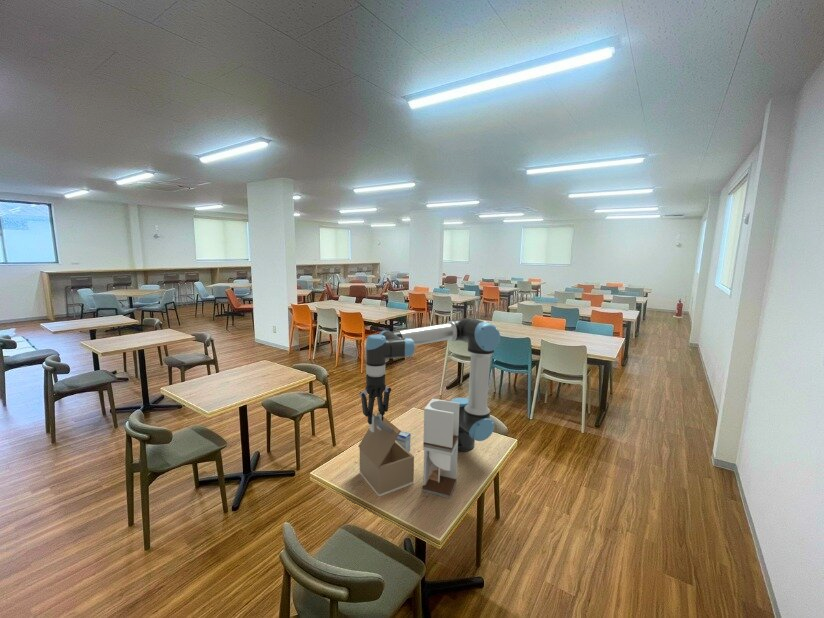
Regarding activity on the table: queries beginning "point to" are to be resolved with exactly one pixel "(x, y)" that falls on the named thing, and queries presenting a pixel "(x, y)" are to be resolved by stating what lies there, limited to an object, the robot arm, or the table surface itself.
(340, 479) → the table surface
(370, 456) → the lid flap
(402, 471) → the carton
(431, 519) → the table surface
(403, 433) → the medicine box
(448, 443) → the white tower
